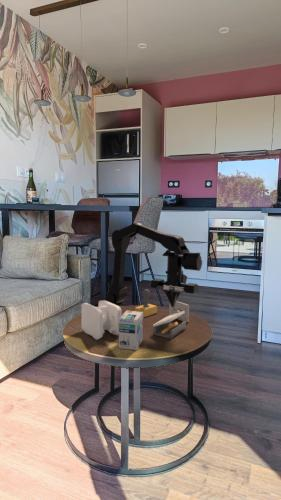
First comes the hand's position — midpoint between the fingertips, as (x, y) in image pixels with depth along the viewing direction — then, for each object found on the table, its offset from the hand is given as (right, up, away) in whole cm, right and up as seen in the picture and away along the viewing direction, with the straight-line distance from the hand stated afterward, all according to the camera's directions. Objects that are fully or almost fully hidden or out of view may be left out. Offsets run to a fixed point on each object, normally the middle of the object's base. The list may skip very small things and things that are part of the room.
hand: (172, 307), depth 132 cm
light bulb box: (-16, -11, -12) cm, 23 cm away
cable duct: (-1, -10, +1) cm, 10 cm away
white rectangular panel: (-1, -5, +1) cm, 6 cm away
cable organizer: (-28, -10, -3) cm, 30 cm away
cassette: (+4, -9, +19) cm, 21 cm away
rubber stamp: (-10, -8, +24) cm, 28 cm away
